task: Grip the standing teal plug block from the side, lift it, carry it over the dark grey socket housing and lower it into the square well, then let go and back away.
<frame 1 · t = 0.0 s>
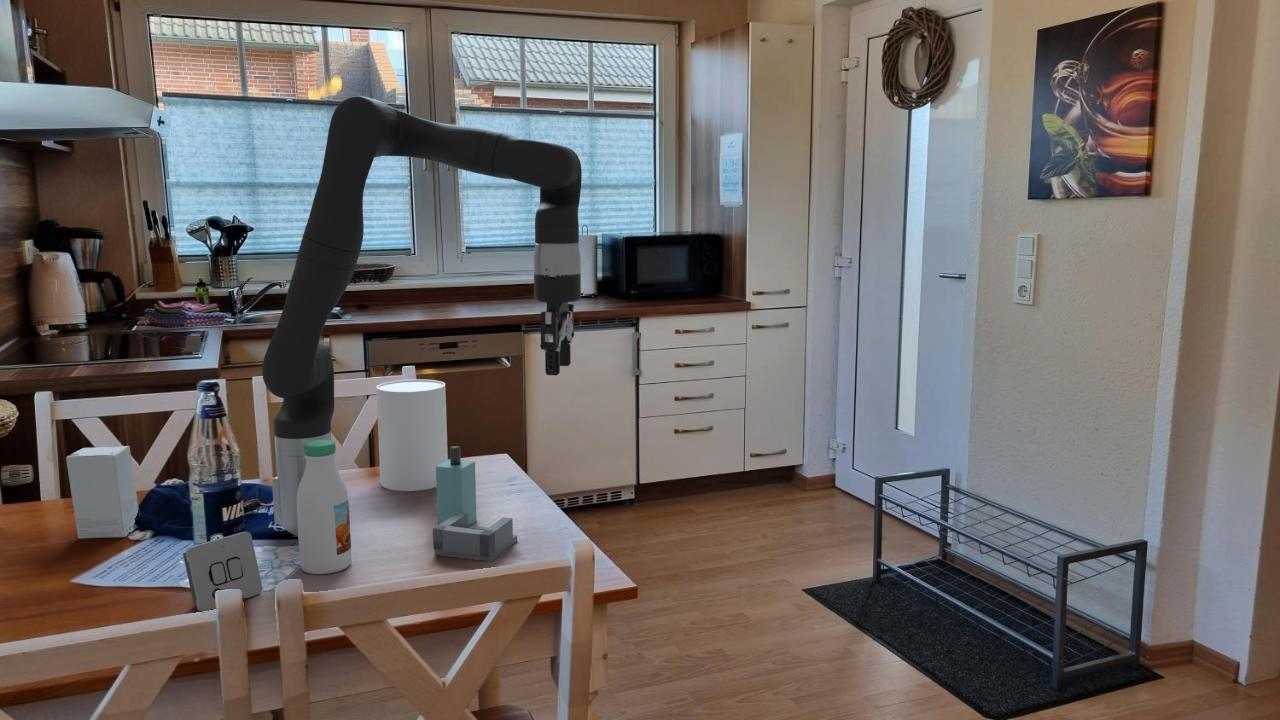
hand: (558, 370, 154), 29 cm above the table, tool pointing down, fingers open, 8 cm apart
milk bottle: (326, 567, 147), on the table
electrical switch: (222, 601, 135), on the table
skincare box: (108, 534, 162), on the table
plug: (457, 523, 167), on the table
canister: (414, 481, 193), on the table
socket: (476, 547, 156), on the table
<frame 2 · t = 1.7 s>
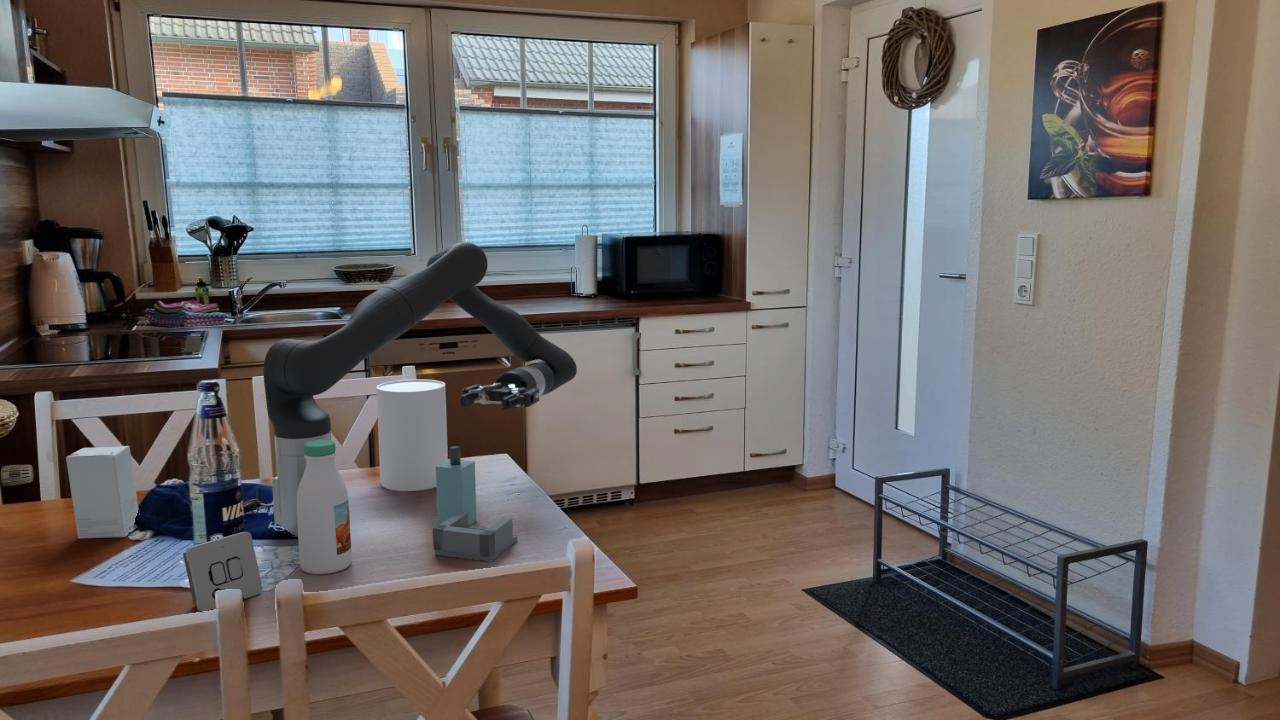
hand: (483, 403, 174), 20 cm above the table, tool horizontal, fingers open, 8 cm apart
nothing on the table moved.
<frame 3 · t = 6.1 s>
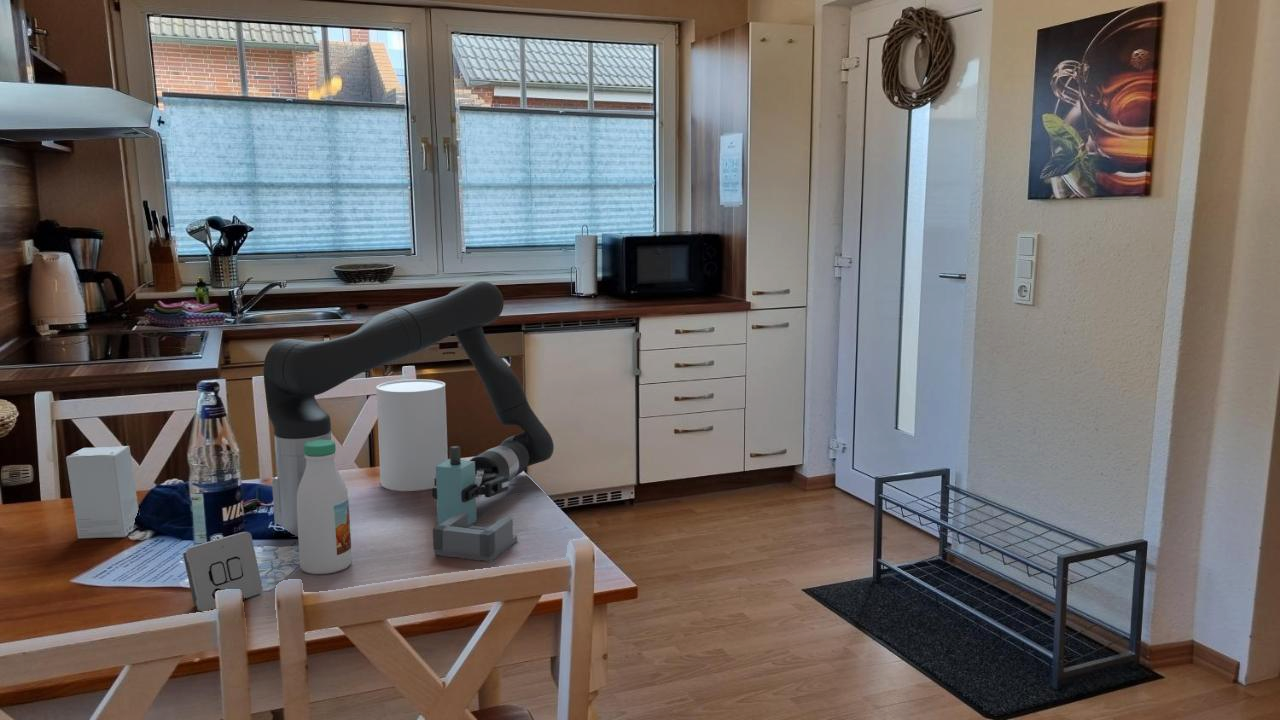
hand: (449, 495, 164), 6 cm above the table, tool horizontal, fingers closed on plug, 5 cm apart
plug: (457, 523, 167), on the table, touching gripper
everything else where it was.
when the fingers open (9 cm above the table, at t = 11.2 s): plug drops 2 cm, resting on socket.
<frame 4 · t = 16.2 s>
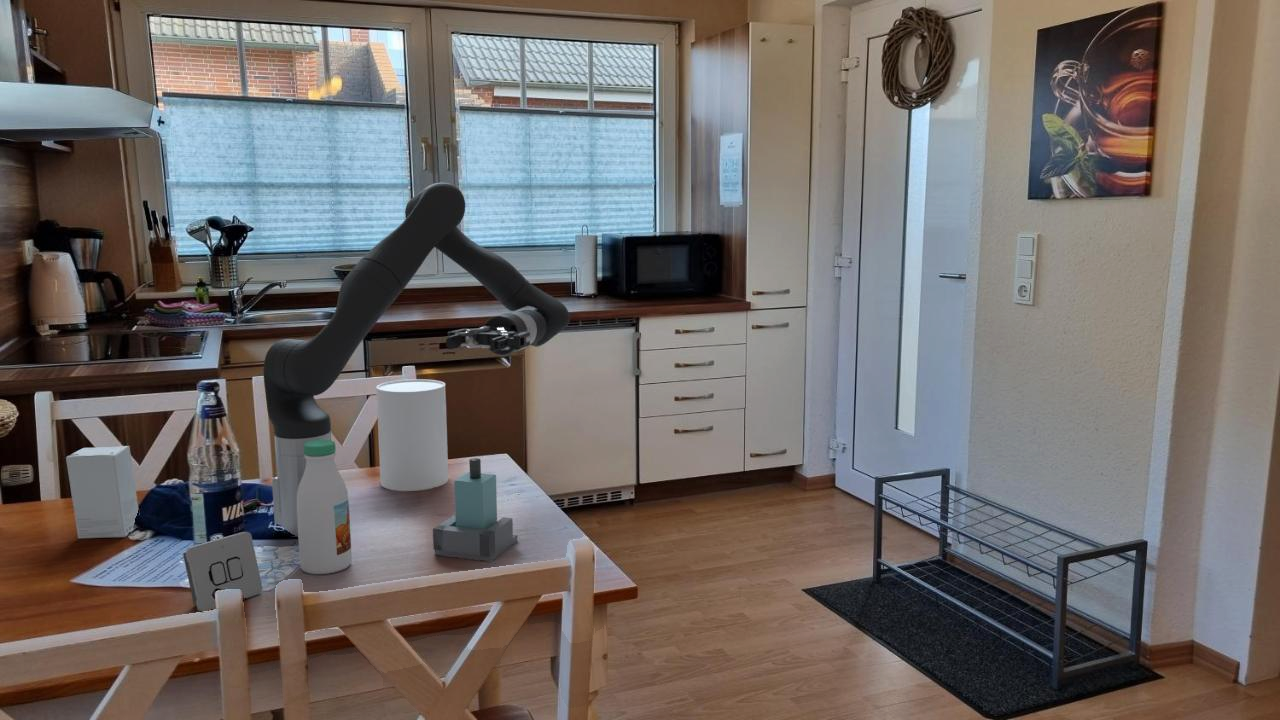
hand: (470, 344, 164), 32 cm above the table, tool horizontal, fingers open, 8 cm apart
plug: (477, 541, 155), point 1 cm above the table, touching socket
everything else where it was.
at the end: plug 0.1 cm off-centre on the socket, point 1.0 cm above the socket's base; plug tilted 0°; the gripper is holding nothing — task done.
